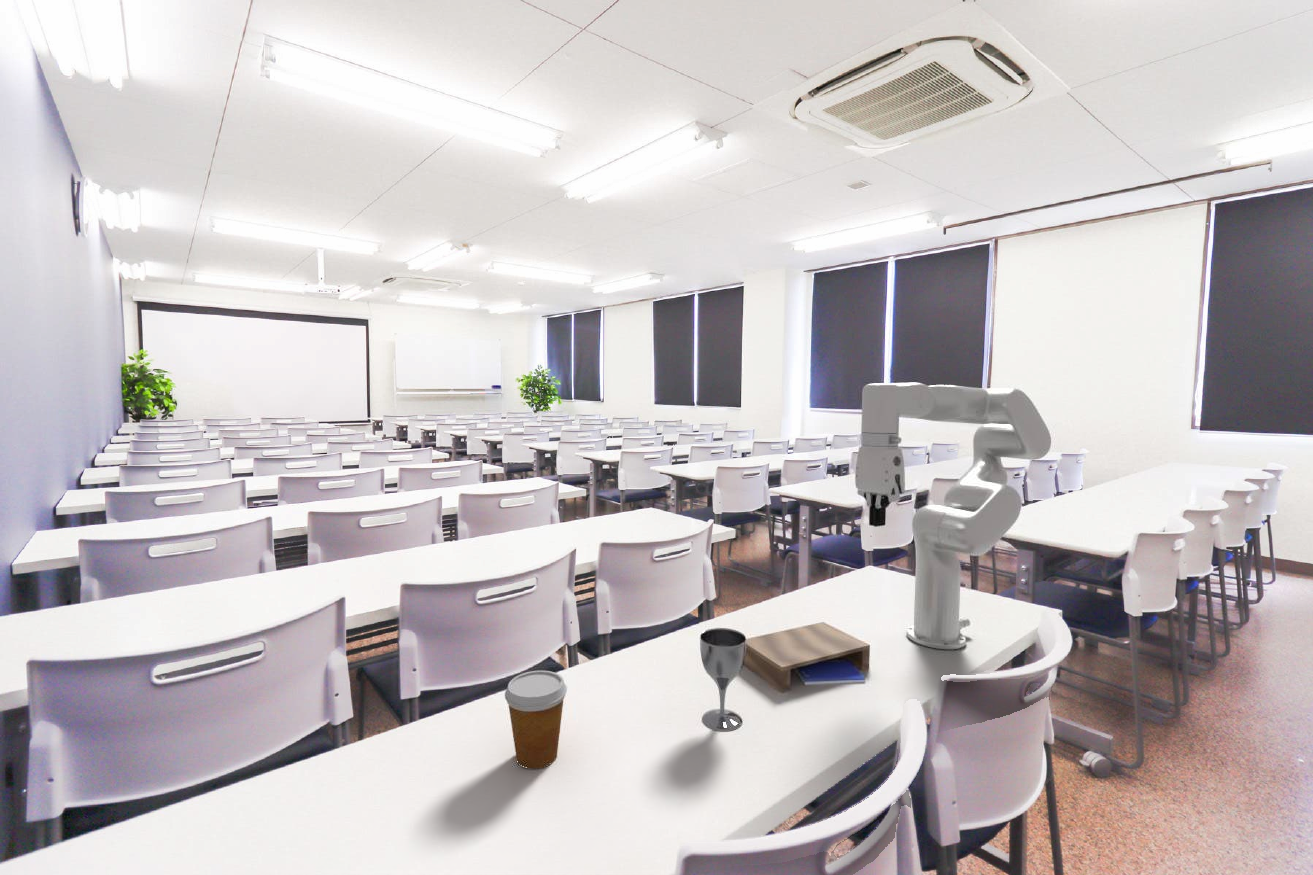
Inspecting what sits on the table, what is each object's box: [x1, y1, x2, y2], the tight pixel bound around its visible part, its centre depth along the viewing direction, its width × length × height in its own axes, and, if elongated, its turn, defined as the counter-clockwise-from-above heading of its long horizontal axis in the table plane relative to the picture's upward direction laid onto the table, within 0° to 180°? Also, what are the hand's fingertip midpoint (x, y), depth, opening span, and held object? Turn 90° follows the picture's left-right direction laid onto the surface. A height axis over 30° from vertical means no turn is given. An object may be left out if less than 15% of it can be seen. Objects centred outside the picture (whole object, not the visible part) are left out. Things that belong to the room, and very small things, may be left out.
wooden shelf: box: [743, 621, 871, 693], centre depth 123 cm, size 23×14×5 cm, turn 116°
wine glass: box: [699, 627, 747, 732], centre depth 102 cm, size 8×8×15 cm
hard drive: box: [793, 659, 866, 685], centre depth 120 cm, size 2×8×12 cm
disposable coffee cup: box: [504, 670, 568, 770], centre depth 92 cm, size 10×10×12 cm
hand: (877, 525), depth 126 cm, fingers closed
